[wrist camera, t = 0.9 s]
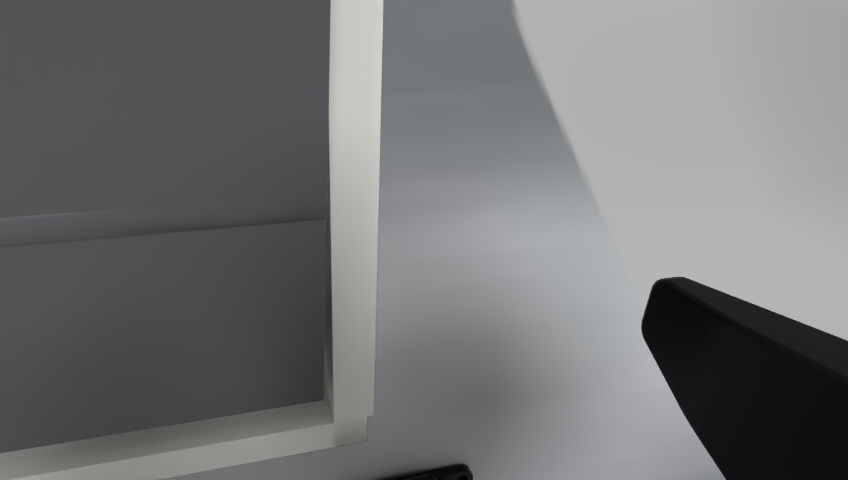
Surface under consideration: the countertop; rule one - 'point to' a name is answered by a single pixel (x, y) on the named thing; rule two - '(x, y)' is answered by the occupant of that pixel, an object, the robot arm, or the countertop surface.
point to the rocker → (160, 212)
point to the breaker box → (344, 308)
